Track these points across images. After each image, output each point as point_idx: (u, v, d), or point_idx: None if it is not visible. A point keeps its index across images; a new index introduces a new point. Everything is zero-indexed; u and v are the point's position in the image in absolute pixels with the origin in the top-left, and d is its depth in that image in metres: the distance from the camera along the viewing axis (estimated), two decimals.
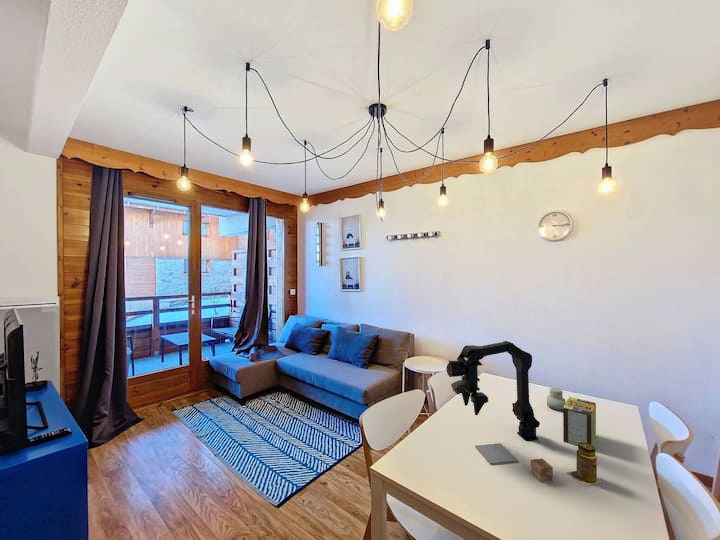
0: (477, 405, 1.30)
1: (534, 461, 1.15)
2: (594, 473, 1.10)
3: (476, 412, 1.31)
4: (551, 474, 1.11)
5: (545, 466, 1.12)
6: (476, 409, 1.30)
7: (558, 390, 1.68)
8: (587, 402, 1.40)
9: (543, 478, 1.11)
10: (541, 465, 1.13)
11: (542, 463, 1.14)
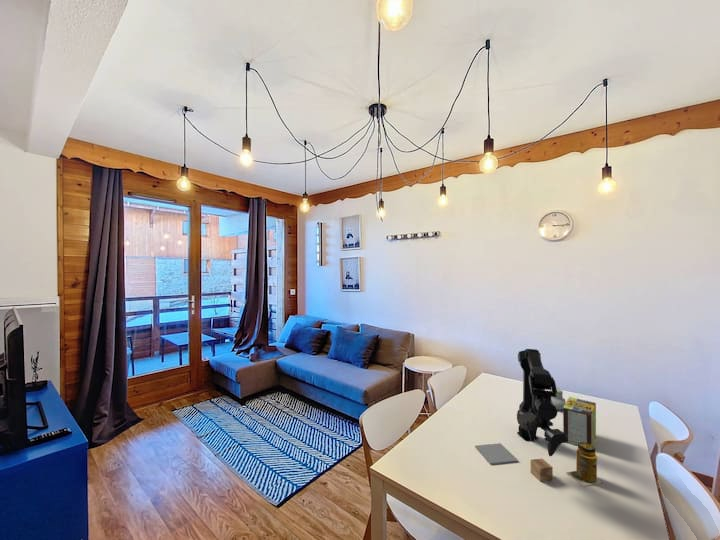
0: (552, 445, 1.08)
1: (534, 461, 1.15)
2: (594, 473, 1.10)
3: (551, 453, 1.08)
4: (551, 474, 1.11)
5: (545, 466, 1.12)
6: (551, 449, 1.08)
7: (558, 390, 1.68)
8: (587, 402, 1.40)
9: (543, 478, 1.11)
10: (541, 465, 1.13)
11: (542, 463, 1.14)
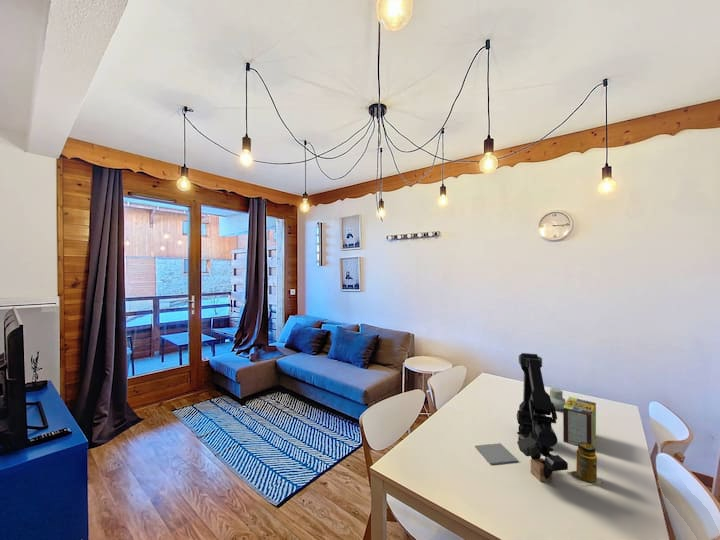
0: (548, 467, 1.10)
1: (534, 461, 1.15)
2: (594, 473, 1.10)
3: (547, 475, 1.10)
4: (551, 474, 1.11)
5: None
6: (547, 472, 1.10)
7: (558, 390, 1.68)
8: (587, 402, 1.40)
9: (543, 478, 1.11)
10: (541, 464, 1.13)
11: None
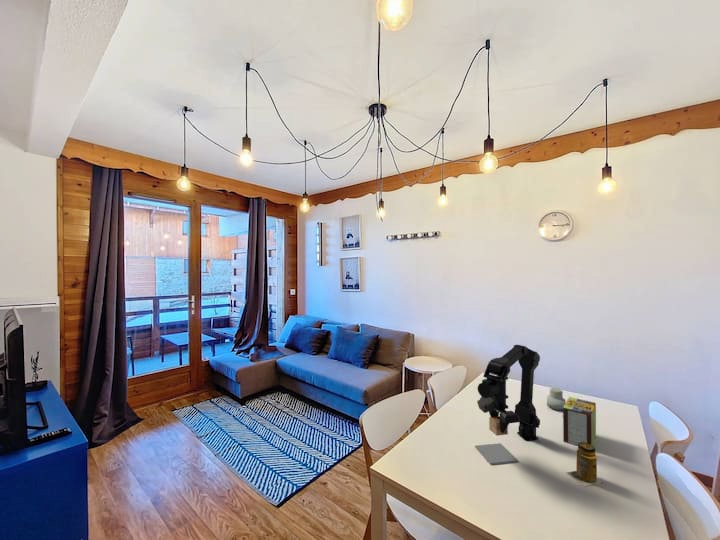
0: (504, 422, 1.22)
1: (492, 418, 1.27)
2: (594, 473, 1.10)
3: (502, 430, 1.23)
4: (506, 428, 1.24)
5: None
6: (502, 426, 1.22)
7: (558, 390, 1.68)
8: (587, 402, 1.40)
9: (499, 432, 1.24)
10: (498, 421, 1.25)
11: None
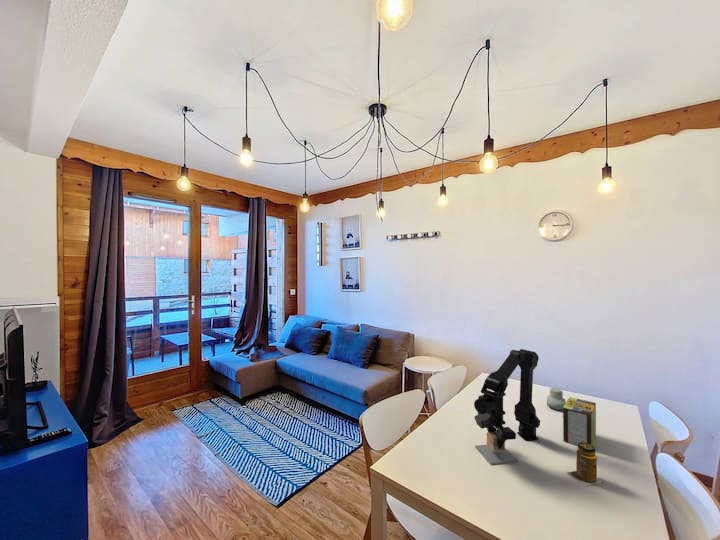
0: (501, 438, 1.23)
1: (489, 433, 1.28)
2: (594, 473, 1.10)
3: (499, 445, 1.24)
4: (503, 444, 1.25)
5: None
6: (499, 442, 1.24)
7: (558, 390, 1.68)
8: (587, 402, 1.40)
9: (496, 448, 1.25)
10: (495, 436, 1.26)
11: None
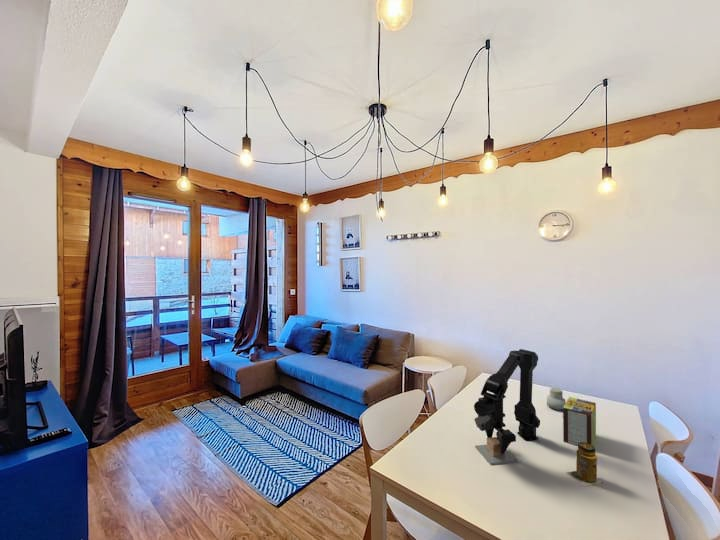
0: (503, 443, 1.22)
1: (489, 439, 1.28)
2: (594, 473, 1.10)
3: (502, 451, 1.22)
4: None
5: (498, 443, 1.25)
6: (502, 448, 1.22)
7: (558, 390, 1.68)
8: (587, 402, 1.40)
9: (496, 453, 1.25)
10: (495, 442, 1.26)
11: (496, 440, 1.27)
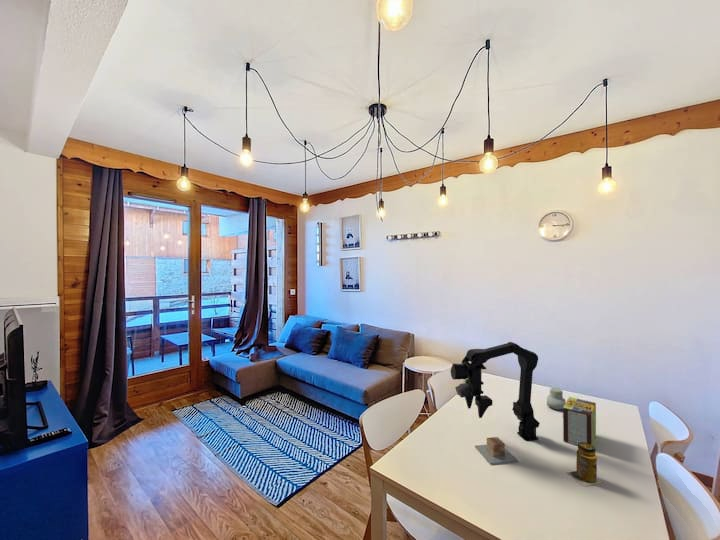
0: (481, 408, 1.32)
1: (489, 439, 1.28)
2: (594, 473, 1.10)
3: (480, 415, 1.33)
4: (503, 450, 1.25)
5: (498, 443, 1.25)
6: (480, 412, 1.32)
7: (558, 390, 1.68)
8: (587, 402, 1.40)
9: (496, 453, 1.25)
10: (495, 442, 1.26)
11: (496, 440, 1.27)
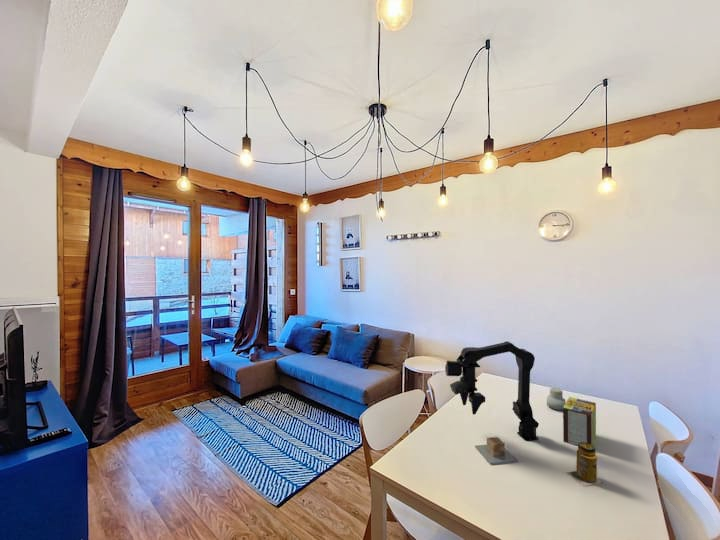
0: (475, 405, 1.36)
1: (489, 439, 1.28)
2: (594, 473, 1.10)
3: (474, 411, 1.36)
4: (503, 450, 1.25)
5: (498, 443, 1.25)
6: (474, 408, 1.36)
7: (558, 390, 1.68)
8: (587, 402, 1.40)
9: (496, 453, 1.25)
10: (495, 442, 1.26)
11: (496, 440, 1.27)
